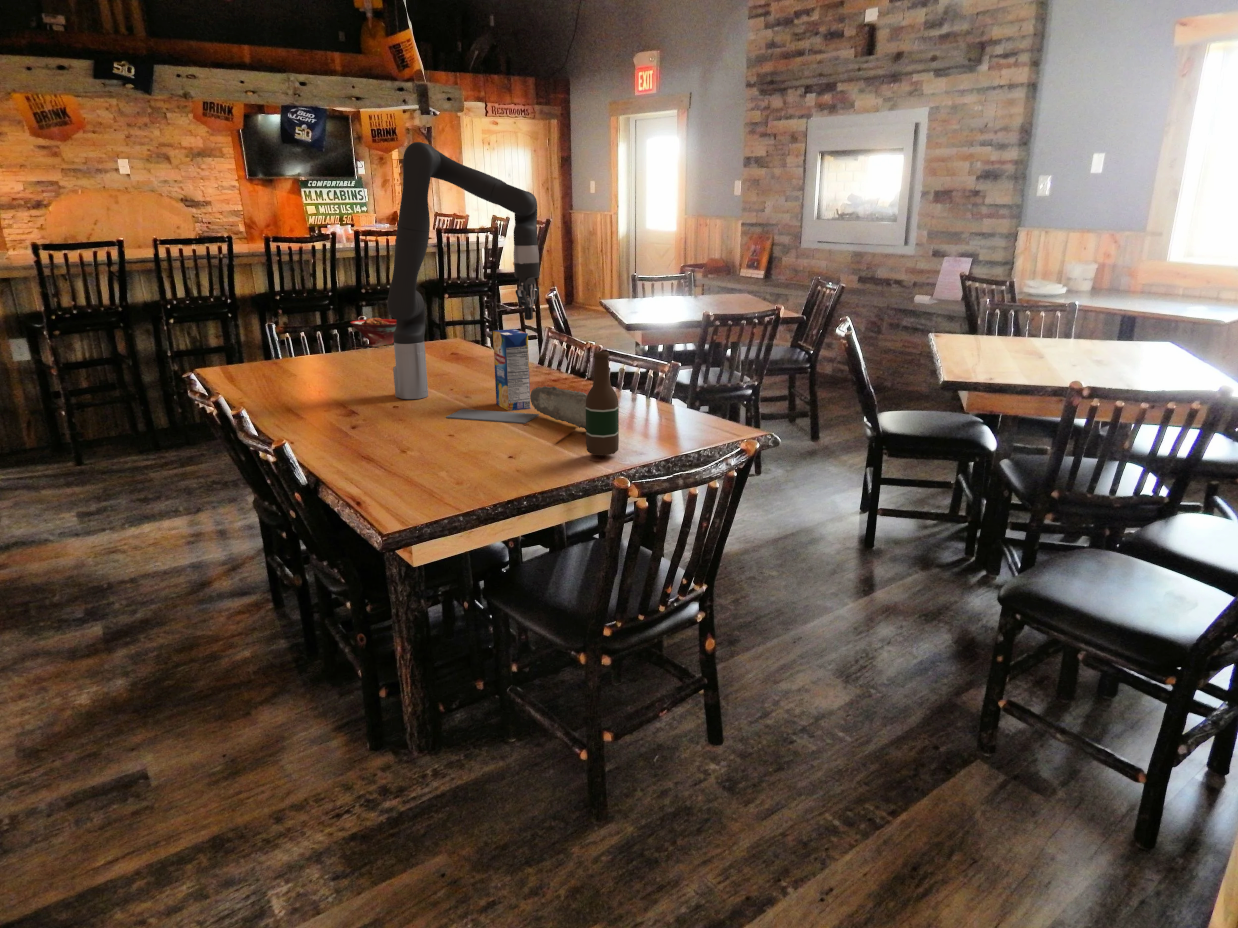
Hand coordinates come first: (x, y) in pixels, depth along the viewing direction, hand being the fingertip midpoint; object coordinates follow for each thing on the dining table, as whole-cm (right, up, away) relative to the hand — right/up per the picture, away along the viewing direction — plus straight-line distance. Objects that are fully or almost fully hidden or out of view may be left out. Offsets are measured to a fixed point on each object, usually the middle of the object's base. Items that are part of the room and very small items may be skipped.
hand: (528, 319), depth 251 cm
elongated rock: (+14, -34, -28) cm, 46 cm away
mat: (-8, -31, -19) cm, 37 cm away
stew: (-73, +4, +100) cm, 123 cm away
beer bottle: (+24, -41, -53) cm, 71 cm away
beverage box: (-4, -27, -6) cm, 28 cm away
